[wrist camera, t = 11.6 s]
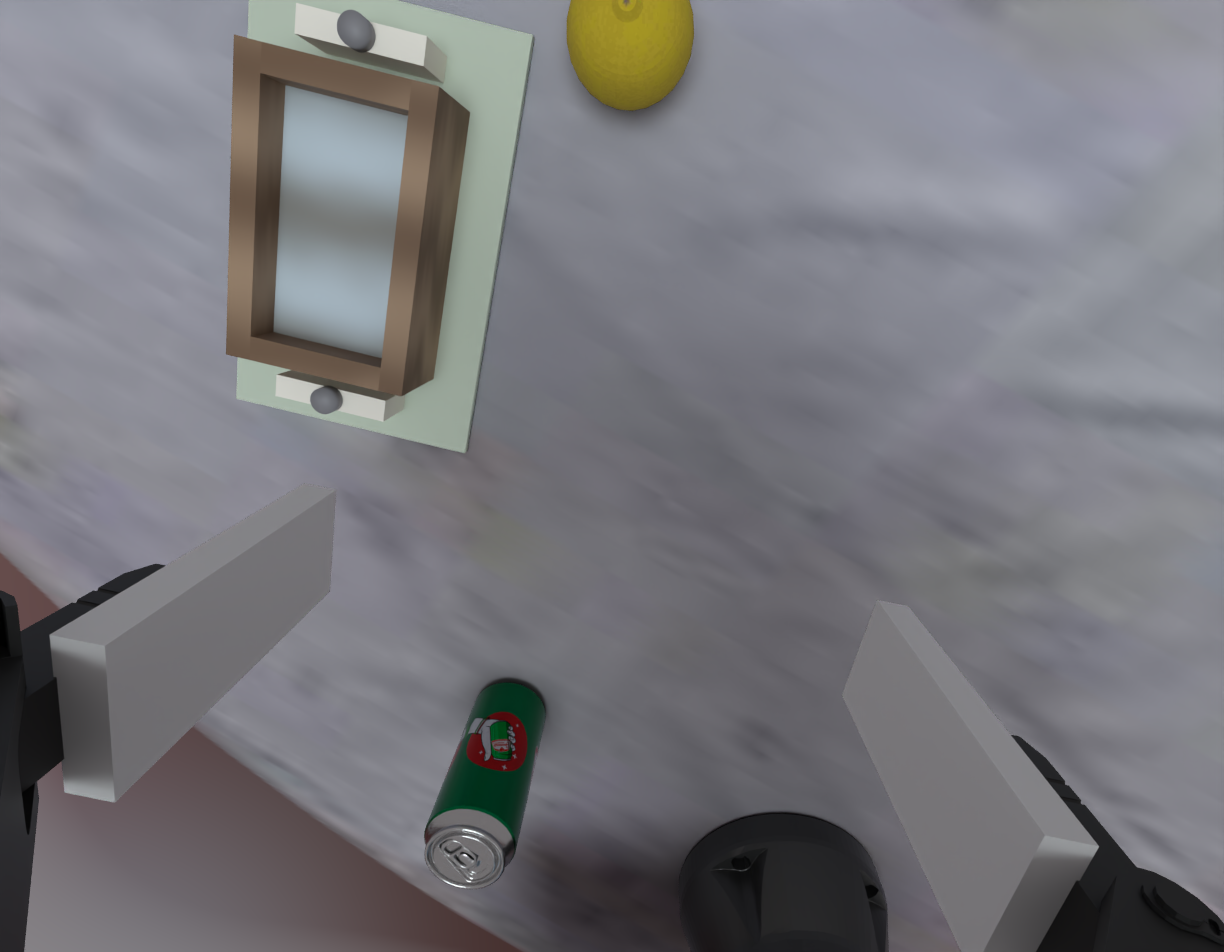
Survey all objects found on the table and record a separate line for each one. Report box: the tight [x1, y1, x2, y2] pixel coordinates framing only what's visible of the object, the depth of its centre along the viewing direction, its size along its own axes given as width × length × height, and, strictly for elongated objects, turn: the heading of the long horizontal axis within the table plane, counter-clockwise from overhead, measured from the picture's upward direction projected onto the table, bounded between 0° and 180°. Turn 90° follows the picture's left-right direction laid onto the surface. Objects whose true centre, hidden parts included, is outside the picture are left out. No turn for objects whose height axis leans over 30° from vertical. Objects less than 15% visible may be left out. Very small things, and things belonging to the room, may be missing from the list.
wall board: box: [236, 0, 534, 453], centre depth 32 cm, size 22×14×4 cm, turn 167°
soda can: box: [424, 682, 546, 889], centre depth 39 cm, size 5×5×12 cm
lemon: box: [567, 0, 694, 111], centre depth 27 cm, size 6×6×8 cm
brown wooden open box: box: [226, 35, 470, 397], centre depth 32 cm, size 14×9×5 cm, turn 167°
